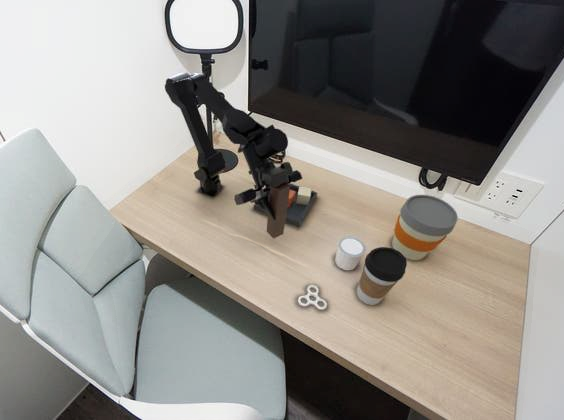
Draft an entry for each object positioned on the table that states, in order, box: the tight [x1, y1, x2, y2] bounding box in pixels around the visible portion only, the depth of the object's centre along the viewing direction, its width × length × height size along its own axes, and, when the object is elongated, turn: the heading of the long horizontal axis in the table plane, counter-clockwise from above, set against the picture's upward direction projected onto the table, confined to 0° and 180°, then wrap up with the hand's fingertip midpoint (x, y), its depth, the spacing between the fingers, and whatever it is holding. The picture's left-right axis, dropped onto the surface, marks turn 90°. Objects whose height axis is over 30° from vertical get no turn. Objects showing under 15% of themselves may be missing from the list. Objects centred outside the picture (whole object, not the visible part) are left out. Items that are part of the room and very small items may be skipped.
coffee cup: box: [356, 246, 408, 306], centre depth 74 cm, size 8×8×15 cm
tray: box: [253, 182, 318, 228], centre depth 103 cm, size 16×16×3 cm
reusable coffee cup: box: [391, 194, 459, 261], centre depth 85 cm, size 13×13×15 cm
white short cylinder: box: [334, 236, 366, 271], centre depth 85 cm, size 7×7×7 cm
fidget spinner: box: [297, 284, 328, 311], centre depth 79 cm, size 7×6×1 cm
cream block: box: [296, 186, 313, 205], centre depth 103 cm, size 4×4×4 cm
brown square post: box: [266, 183, 290, 240], centre depth 84 cm, size 4×4×18 cm
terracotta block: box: [287, 190, 296, 208], centre depth 102 cm, size 4×4×4 cm
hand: (280, 217), depth 84 cm, fingers closed on brown square post, 3 cm apart
